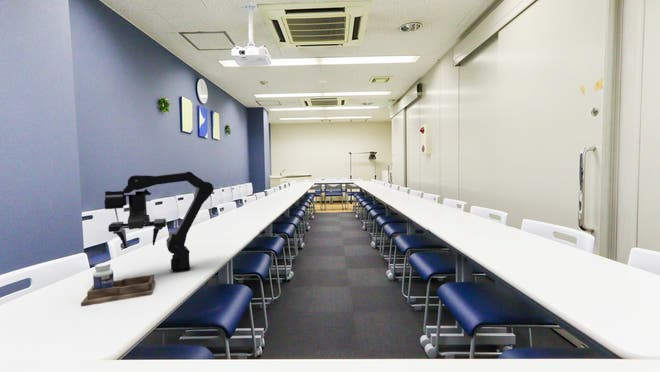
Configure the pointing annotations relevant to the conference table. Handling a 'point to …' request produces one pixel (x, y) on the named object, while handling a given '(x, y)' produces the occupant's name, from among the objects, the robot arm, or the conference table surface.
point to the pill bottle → (103, 276)
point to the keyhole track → (121, 290)
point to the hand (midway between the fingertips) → (140, 246)
